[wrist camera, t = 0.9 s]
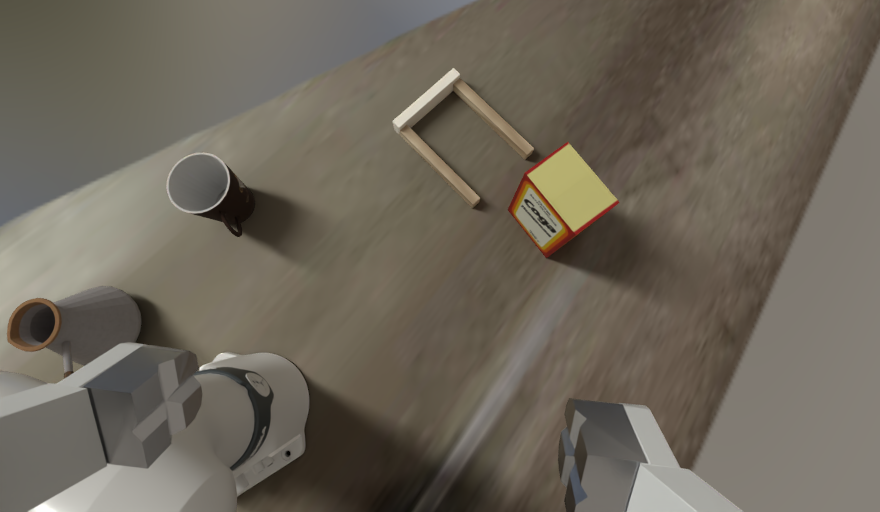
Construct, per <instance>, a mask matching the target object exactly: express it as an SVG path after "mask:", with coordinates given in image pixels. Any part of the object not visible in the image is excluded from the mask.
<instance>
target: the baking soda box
mask: <svg viewBox="0 0 880 512" xmlns="http://www.w3.org/2000/svg"><path fill="white" fill-rule="evenodd" d="M618 203H619V201H618V200H617V199H616V198H615V197H614V196H613V194H612V193H611V192H610V191H609V190H608V189H607V187H606V186H605V185H604V184H603V183H602V181H601V180H600V179H599V178H598V177H597V176H596V174H595V173H594V172H593V171H592V170H591V169H590V167H589V166H588V165H587V164H586V163H585V162H584V160H583V159H582V158H581V157H580V156H579V155H578V153H577V152H576V151H575V150H574V149H573V147H572V146H571V145H570V144H569V143H568V142H567V143H565V144H564V145H563V146H561V147H560V148H559V149H557V150H556V151H554V152H553V153H552V154H550V155H549V156H547V157H546V158H545V159H543V160H542V161H541V162H539V163H538V164H536V165H535V166H534V167H532V168H531V169H530V170H528V171H527V172H525V174H524V176H523V178H522V180H521V182H520V185H519V187H518V189H517V191H516V193H515V195H514V197H513V200H512V202H511V204H510V206H509V208H508V211H509V212H510V213H511V214H512V216H513V217H514V218H515V219H516V221H517V222H518V223H519V224H520V226H521V227H522V228H523V229H524V231H525V232H526V233H527V234H528V236H529V237H530V238H531V239H532V241H533V242H534V243H535V244H536V246H537V247H538V248H539V250H540V251H541V252H542V253H543V255H544V256H545V257H546V258H547V257H549V256H550V255H551V254H553V253H554V252H555V251H557V250H558V249H559V248H561V247H562V246H563V245H565V244H566V243H567V242H569V241H570V240H571V239H573V238H574V237H575V236H577V235H578V234H579V233H581V232H582V231H583V230H585V229H586V228H587V227H588V226H590V225H591V224H592V223H594V222H595V221H596V220H598V219H599V218H600V217H601V216H603V215H604V214H605V213H607V212H608V211H609V210H611V209H612V208H613V207H614V206H616V205H617V204H618Z"/></svg>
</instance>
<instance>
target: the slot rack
mask: <svg viewBox="0 0 880 512" xmlns="http://www.w3.org/2000/svg"><path fill="white" fill-rule="evenodd" d="M452 91H454V92H455V93H456V94H457V95H458V96H459V97H460V98H461V99H462V100H463V101H464V102H465V103H466V104H467V105H468V106H469V107H470V108H471V109H472V110H473V111H474V112H476V113H477V114H478V115H479V116H480V117H481V118H482V119H483V120H484V121H485V122H486V123H487V124H488V125H489V126H490V127H491V128H492V129H493V130H494V131H495V132H496V133H497V134H498V135H499V136H501V137H502V138H503V139H504V140H505V141H506V142H507V143H508V144H509V145H510V146H511V147H512V148H513V149H514V150H515V151H516V152H517V153H518V154H519V155H520V156H521V157H522V158H523V159H524V160H526V159H527V158H528V157H529V156H530V155H531V154H532V152H533V150H534V148H533V147H532V146H531V145H530V144H529V143H528V142H527V141H526V140H525V139H524V138H523V137H522V136H520V135H519V134H518V133H517V132H516V131H515V130H514V129H513V128H512V127H511V126H510V125H509V124H508V123H507V122H506V121H505V120H504V119H503V118H502V117H501V116H499V115H498V114H497V113H496V112H495V111H494V110H493V109H492V108H491V107H490V106H489V105H488V104H487V103H486V102H485V101H484V100H483V99H482V98H481V97H479V96H478V95H477V94H476V93H475V92H474V91H473V90H472V89H471V88H470V87H469V86H468V85H467V84H466V83H465V82H464V81H463V80H462V79H461V78H460V74H459V73H458V72H457V71H456V70H455V69H454V68H453V69H452V70H451V71H450V72H448V73H447V74H446V75H445V76H444V77H443V78H442V79H440V80H439V81H438V82H437V83H436V84H435V85H434V86H432V87H431V88H430V89H429V90H428V91H427V92H425V93H424V94H423V95H422V96H421V97H420V98H419V99H417V100H416V101H415V102H414V103H413V104H412V105H411V106H409V107H408V108H407V109H406V110H405V111H404V112H402V113H401V114H400V115H399V116H398V117H397V118H396V119H394V120H393V121H392V122H393V125H394V129H395V131H396V132H397V133H398V134H399V135H400V136H401V137H402V138H403V139H404V140H405V141H406V142H407V143H408V144H409V145H410V146H411V147H412V148H413V149H414V150H415V151H416V152H417V153H418V154H419V155H420V156H421V157H422V158H423V159H424V160H425V161H426V162H427V163H428V164H429V165H430V166H431V167H432V168H433V169H434V170H435V171H436V172H437V173H438V174H439V175H440V176H441V177H442V178H443V179H444V180H445V181H446V182H447V183H448V184H449V185H450V186H451V187H452V188H453V189H454V190H455V191H456V192H457V193H458V194H459V195H460V196H461V197H462V198H463V199H464V200H465V201H466V202H467V203H468V204H469V205H470V206H471V207H472V208H473V207H475V206H476V205H477V204H478V203H479V202H480V197H479V196H478V195H477V194H476V193H475V192H474V191H473V190H472V189H471V188H470V187H469V186H468V185H467V184H466V183H465V182H464V181H463V180H462V179H461V178H460V177H459V176H458V175H457V174H456V173H455V172H454V171H453V170H452V169H451V168H450V167H449V166H448V165H447V164H446V163H445V162H444V161H443V160H442V159H441V158H440V157H439V156H438V155H437V154H436V153H435V152H434V151H433V150H432V149H431V148H430V147H429V146H428V145H427V144H426V143H425V142H424V141H423V140H422V139H421V138H420V137H419V136H418V135H417V134H416V133H415V132H414V131H413V130H412V129H411V127H413V126H414V125H415V124H416V123H417V122H418V121H419V120H421V119H422V118H423V117H424V116H425V115H426V114H427V113H429V112H430V111H431V110H432V109H433V108H434V107H435V106H437V105H438V104H439V103H440V102H441V101H442V100H443V99H445V98H446V97H447V96H448V95H449V94H450V93H451V92H452Z"/></svg>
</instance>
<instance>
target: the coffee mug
mask: <svg viewBox="0 0 880 512" xmlns="http://www.w3.org/2000/svg"><path fill="white" fill-rule="evenodd" d="M167 194H168V197H169V199H170V201H171V202H172V203H173V205H174V206H176V207H177V208H178V209H180V210H182V211H184V212H187V213H191V214H194V215H198V216H202V217H206V218H210V219H213V220H217V221H221V222H223V223H224V224H225V225H226V227H227V228H228V229H229V230H230V232H231V233H232V234H234V235H235V236H237V237H240V236H241V235H242V228H241V224H240V223H241V222H243V221H245V220H246V219H247V218H248V217H249V216H250V215H251V214H252V212H253V210H254V206H255V199H254V196H253V194H252V192H251V191H250V190H249V189H248V188H247V187H246V186H245V185H244V183H243V182H242V181H241V180H240V179H239V178H238V177H237V176H236V175H235V174H234V173H233V172H232V171H231V169H230V168H229V167H228V166H227V165H226V164H225V163H224V162H223V161H222V160H221V159H220V158H218V157H217V156H215V155H213V154H209V153H203V152H200V153H193V154H190V155H188V156H186V157H184V158H182V159H181V160H179V161H178V162H177V163H176V164H175V165H174V166H173V168H172V169H171V171H170V173H169V175H168V179H167ZM230 224H237V228H238V232H236V231H235V230H234V229H233V228H232V227H231V226H230Z"/></svg>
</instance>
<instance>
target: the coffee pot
mask: <svg viewBox="0 0 880 512" xmlns="http://www.w3.org/2000/svg"><path fill="white" fill-rule="evenodd" d="M140 329H141V313H140V311H139V308H138V305H137V304H136V303H135V301H134V300H133V299H132V298H131V297H130V296H129V295H128V294H126V293H125V292H124V291H122V290H120V289H117V288H114V287H106V286H100V287H95V288H91V289H88V290H85V291H83V292H80V293H78V294H75V295H72V296H70V297H67V298H65V299H62V300H59V301H57V302H54V303H53V302H51V301H49V300H47V299H44V298H36V299H31V300H28V301H26V302H24V303H22V304H21V305H20V306H18V307H17V308H16V310H15V311H14V312H13V313H12V315H11V317H10V319H9V323H8V330H7V340H8V342H9V343H10V344H12V345H13V346H15V347H16V348H18V349H21V350H24V351H30V352H33V351H38V350H41V349H43V348H45V347H46V348H48V349H50V350H52V351H54V352H56V353H58V354H60V355H62V356H63V362H64V370H65V373H64V379H65V378H66V377H68V376H70V375H71V374H73V373H74V372H73V364H72V361H74V362H76V363H78V364H81V365H84V366H85V365H87V364H88V363H90V362H92V361H93V360H95V359H96V358H98V357H99V356H101V355H103V354H104V353H106V352H107V351H109V350H111V349H112V348H114V347H115V346H117V345H118V344H120V343H128V342H131V343H135V342H136V340H137V338H138V336H139V333H140Z"/></svg>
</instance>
